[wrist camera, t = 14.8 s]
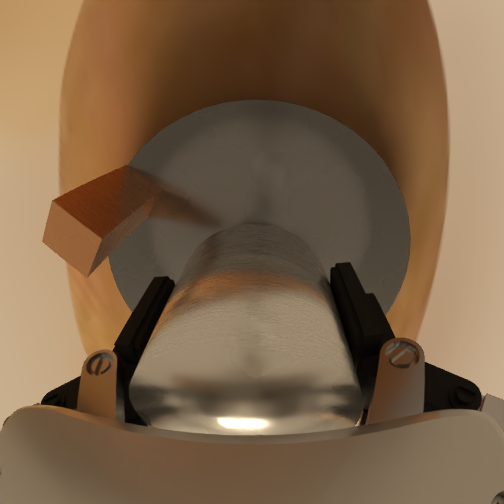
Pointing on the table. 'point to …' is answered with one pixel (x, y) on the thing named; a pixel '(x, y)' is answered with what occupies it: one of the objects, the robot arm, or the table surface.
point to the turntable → (239, 198)
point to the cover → (249, 343)
